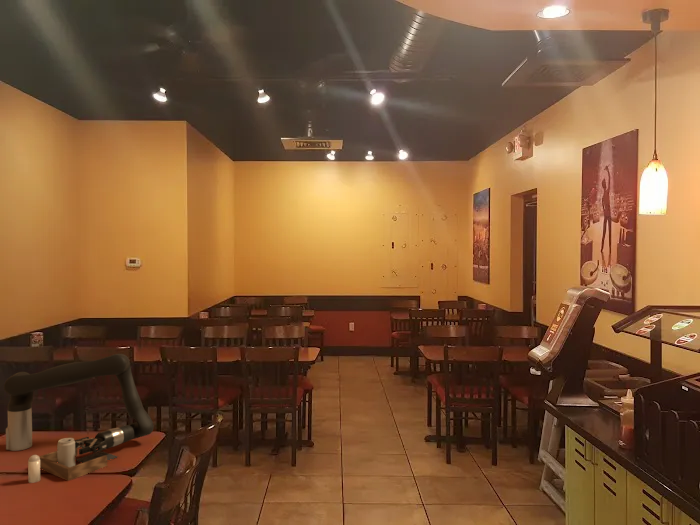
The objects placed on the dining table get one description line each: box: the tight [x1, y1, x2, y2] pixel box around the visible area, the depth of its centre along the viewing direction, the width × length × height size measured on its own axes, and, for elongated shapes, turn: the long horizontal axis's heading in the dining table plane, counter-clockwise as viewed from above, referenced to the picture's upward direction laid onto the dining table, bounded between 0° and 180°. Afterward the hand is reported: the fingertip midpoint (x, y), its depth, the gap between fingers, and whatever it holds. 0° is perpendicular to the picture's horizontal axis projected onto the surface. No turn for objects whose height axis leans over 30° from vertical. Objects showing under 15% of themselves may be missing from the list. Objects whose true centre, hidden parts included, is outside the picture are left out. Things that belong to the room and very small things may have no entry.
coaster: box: [75, 450, 119, 463], centre depth 234 cm, size 12×12×1 cm
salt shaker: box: [27, 454, 41, 484], centre depth 212 cm, size 4×4×10 cm
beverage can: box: [56, 437, 76, 467], centre depth 223 cm, size 6×6×12 cm
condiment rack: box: [38, 448, 108, 481], centre depth 225 cm, size 16×22×4 cm
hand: (73, 449), depth 225 cm, fingers open, 8 cm apart
